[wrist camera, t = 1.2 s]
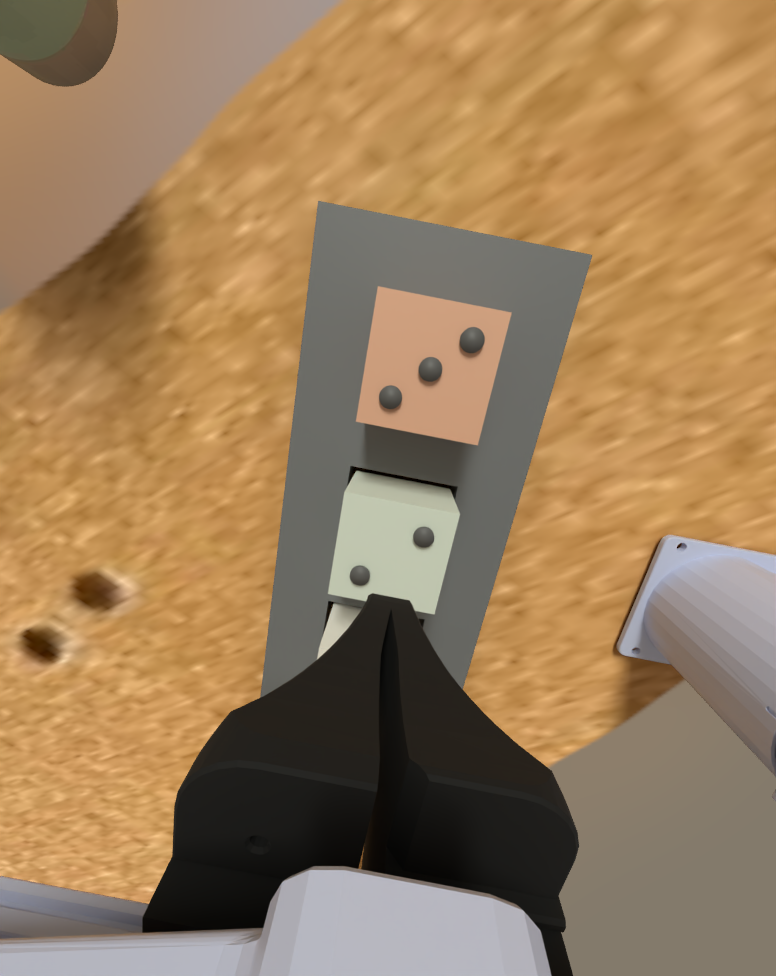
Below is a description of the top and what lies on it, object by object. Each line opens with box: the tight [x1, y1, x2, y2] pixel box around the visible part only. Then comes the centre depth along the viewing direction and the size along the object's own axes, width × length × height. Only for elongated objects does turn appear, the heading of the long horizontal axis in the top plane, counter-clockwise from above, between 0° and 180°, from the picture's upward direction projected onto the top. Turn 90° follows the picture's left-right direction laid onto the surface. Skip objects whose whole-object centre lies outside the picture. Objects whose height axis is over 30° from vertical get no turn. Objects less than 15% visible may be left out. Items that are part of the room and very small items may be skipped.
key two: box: [328, 470, 460, 614], centre depth 19 cm, size 5×5×4 cm
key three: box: [356, 286, 512, 445], centre depth 16 cm, size 5×5×4 cm
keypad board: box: [260, 201, 592, 698], centre depth 21 cm, size 12×28×2 cm, turn 169°
